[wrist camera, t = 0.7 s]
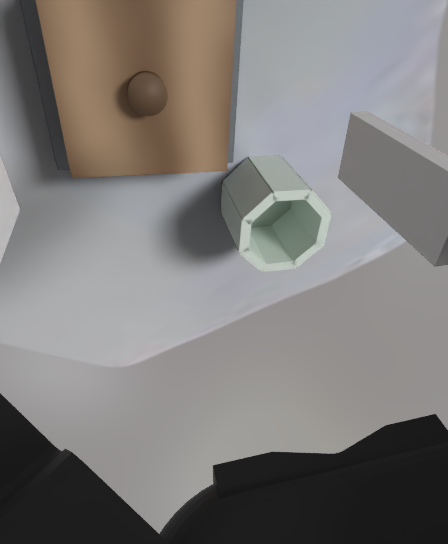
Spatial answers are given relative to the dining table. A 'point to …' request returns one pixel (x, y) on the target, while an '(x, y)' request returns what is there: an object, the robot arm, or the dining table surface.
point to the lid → (141, 83)
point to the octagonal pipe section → (273, 214)
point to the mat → (49, 96)
